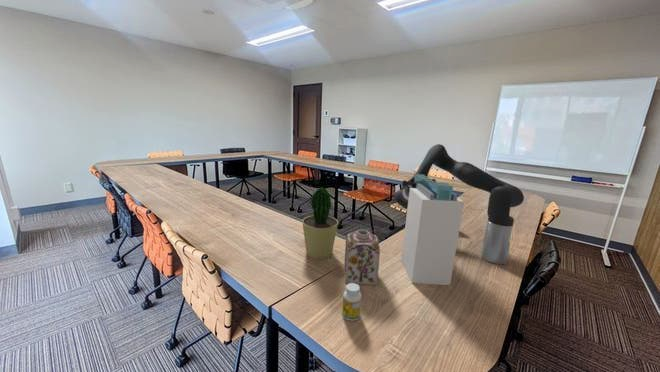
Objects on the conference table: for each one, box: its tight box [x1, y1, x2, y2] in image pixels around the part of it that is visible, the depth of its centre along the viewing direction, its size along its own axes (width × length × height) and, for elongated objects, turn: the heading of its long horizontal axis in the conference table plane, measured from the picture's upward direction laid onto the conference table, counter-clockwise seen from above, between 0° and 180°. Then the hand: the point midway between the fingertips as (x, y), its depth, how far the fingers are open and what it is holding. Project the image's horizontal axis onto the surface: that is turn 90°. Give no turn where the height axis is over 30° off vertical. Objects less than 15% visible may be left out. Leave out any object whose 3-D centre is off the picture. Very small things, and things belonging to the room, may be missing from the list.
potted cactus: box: [301, 187, 339, 260], centre depth 112 cm, size 15×15×30 cm
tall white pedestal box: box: [400, 184, 465, 286], centre depth 100 cm, size 16×14×34 cm
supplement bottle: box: [341, 283, 362, 322], centre depth 78 cm, size 5×5×10 cm
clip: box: [414, 173, 454, 201], centre depth 101 cm, size 28×5×5 cm, turn 178°
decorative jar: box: [344, 229, 381, 286], centre depth 97 cm, size 12×12×18 cm
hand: (423, 180), depth 108 cm, fingers open, 8 cm apart
